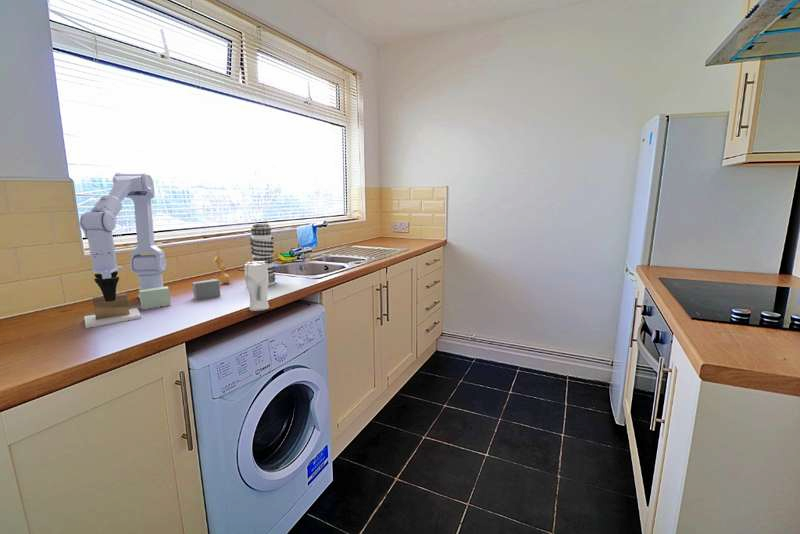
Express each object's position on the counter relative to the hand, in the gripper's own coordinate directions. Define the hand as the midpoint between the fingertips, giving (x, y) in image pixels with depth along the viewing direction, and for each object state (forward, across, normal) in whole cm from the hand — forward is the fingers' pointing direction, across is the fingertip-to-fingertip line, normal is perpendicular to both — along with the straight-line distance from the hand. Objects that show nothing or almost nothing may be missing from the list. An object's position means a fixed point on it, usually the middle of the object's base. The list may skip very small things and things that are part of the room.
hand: (110, 298), depth 112 cm
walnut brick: (+5, 0, 0) cm, 5 cm away
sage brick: (+6, +7, -12) cm, 15 cm away
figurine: (+7, +28, -38) cm, 48 cm away
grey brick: (+7, +9, -28) cm, 30 cm away
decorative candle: (+7, +16, -52) cm, 54 cm away
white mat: (+6, 0, 0) cm, 6 cm away
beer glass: (+7, -18, -38) cm, 42 cm away
